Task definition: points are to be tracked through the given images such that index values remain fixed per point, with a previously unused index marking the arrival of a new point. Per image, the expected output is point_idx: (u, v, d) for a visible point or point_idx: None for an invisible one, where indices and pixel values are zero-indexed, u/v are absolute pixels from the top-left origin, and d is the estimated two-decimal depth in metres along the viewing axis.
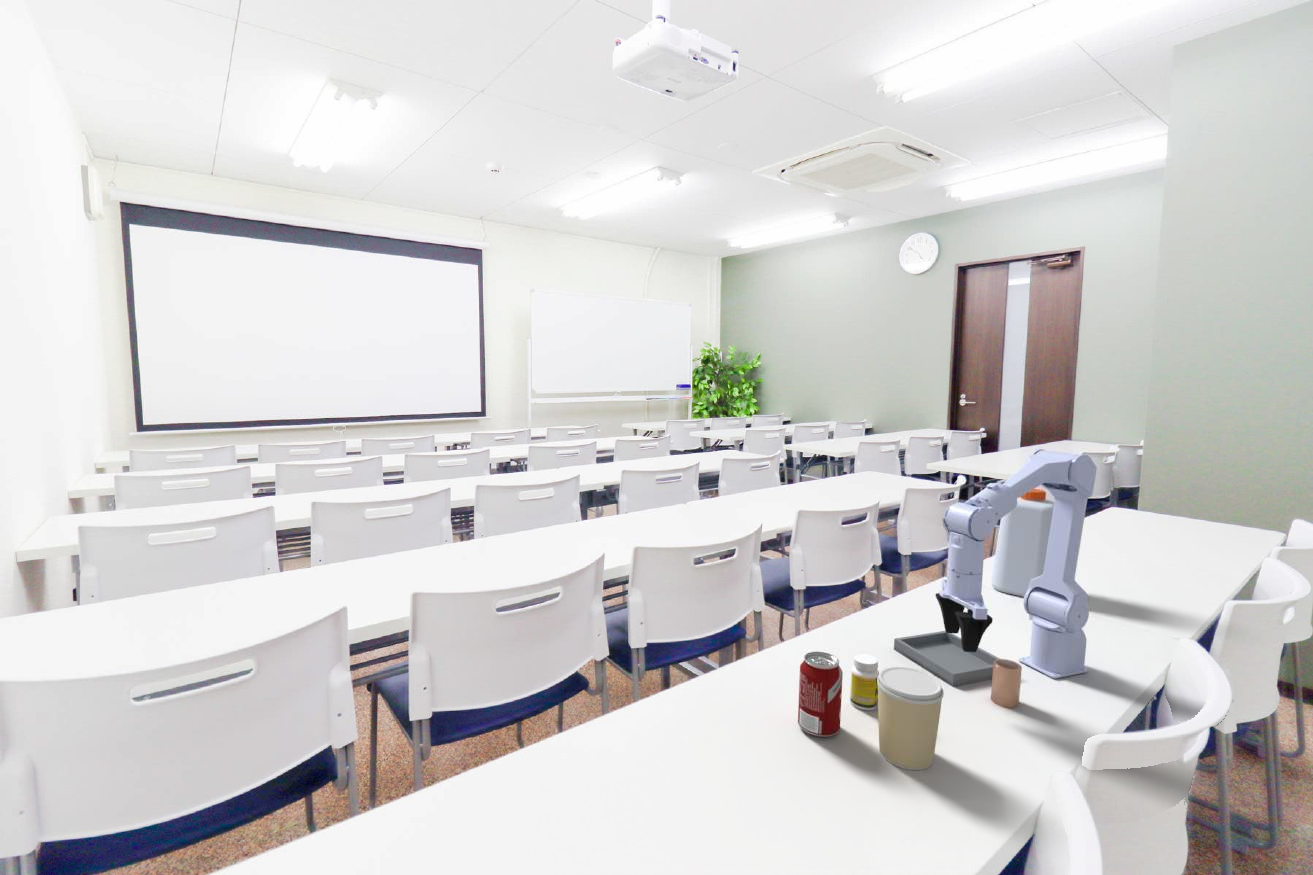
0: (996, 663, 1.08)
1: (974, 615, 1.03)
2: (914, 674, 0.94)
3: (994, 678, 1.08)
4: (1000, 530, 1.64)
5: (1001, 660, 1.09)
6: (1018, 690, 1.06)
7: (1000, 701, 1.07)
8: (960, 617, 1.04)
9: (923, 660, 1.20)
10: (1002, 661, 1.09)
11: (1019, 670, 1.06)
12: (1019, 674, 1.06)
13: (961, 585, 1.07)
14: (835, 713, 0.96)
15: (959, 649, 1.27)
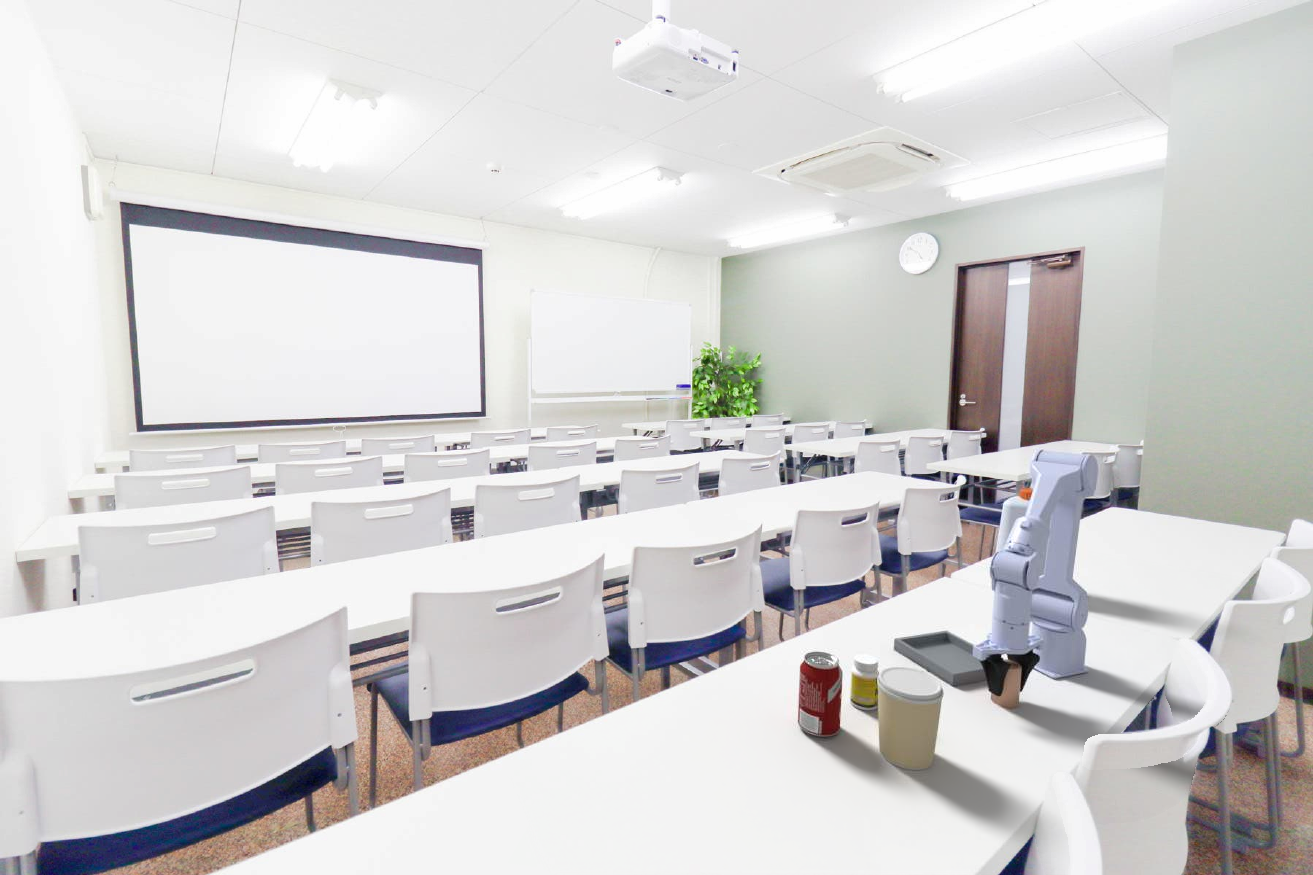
0: None
1: None
2: (914, 674, 0.94)
3: None
4: (1000, 530, 1.64)
5: None
6: (1018, 690, 1.06)
7: (1000, 701, 1.07)
8: None
9: (923, 660, 1.20)
10: None
11: (1019, 670, 1.06)
12: (1019, 674, 1.06)
13: (992, 628, 1.08)
14: (835, 713, 0.96)
15: (959, 649, 1.27)
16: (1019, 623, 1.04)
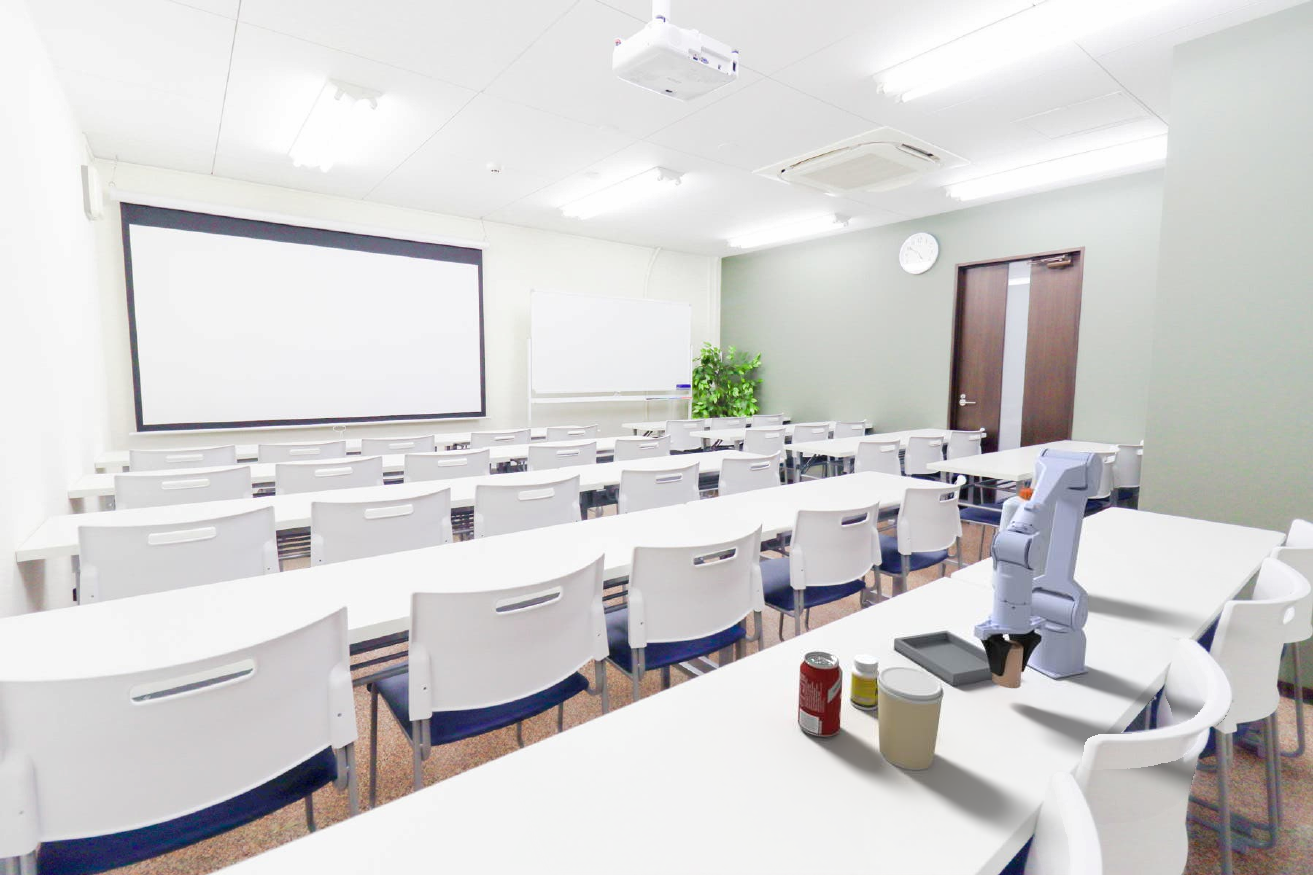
0: None
1: None
2: (914, 674, 0.94)
3: None
4: (1000, 530, 1.64)
5: None
6: (1020, 670, 1.06)
7: (1002, 681, 1.06)
8: None
9: (923, 660, 1.20)
10: None
11: (1021, 650, 1.05)
12: (1021, 654, 1.05)
13: (993, 608, 1.07)
14: (835, 713, 0.96)
15: (959, 649, 1.27)
16: (1021, 602, 1.03)
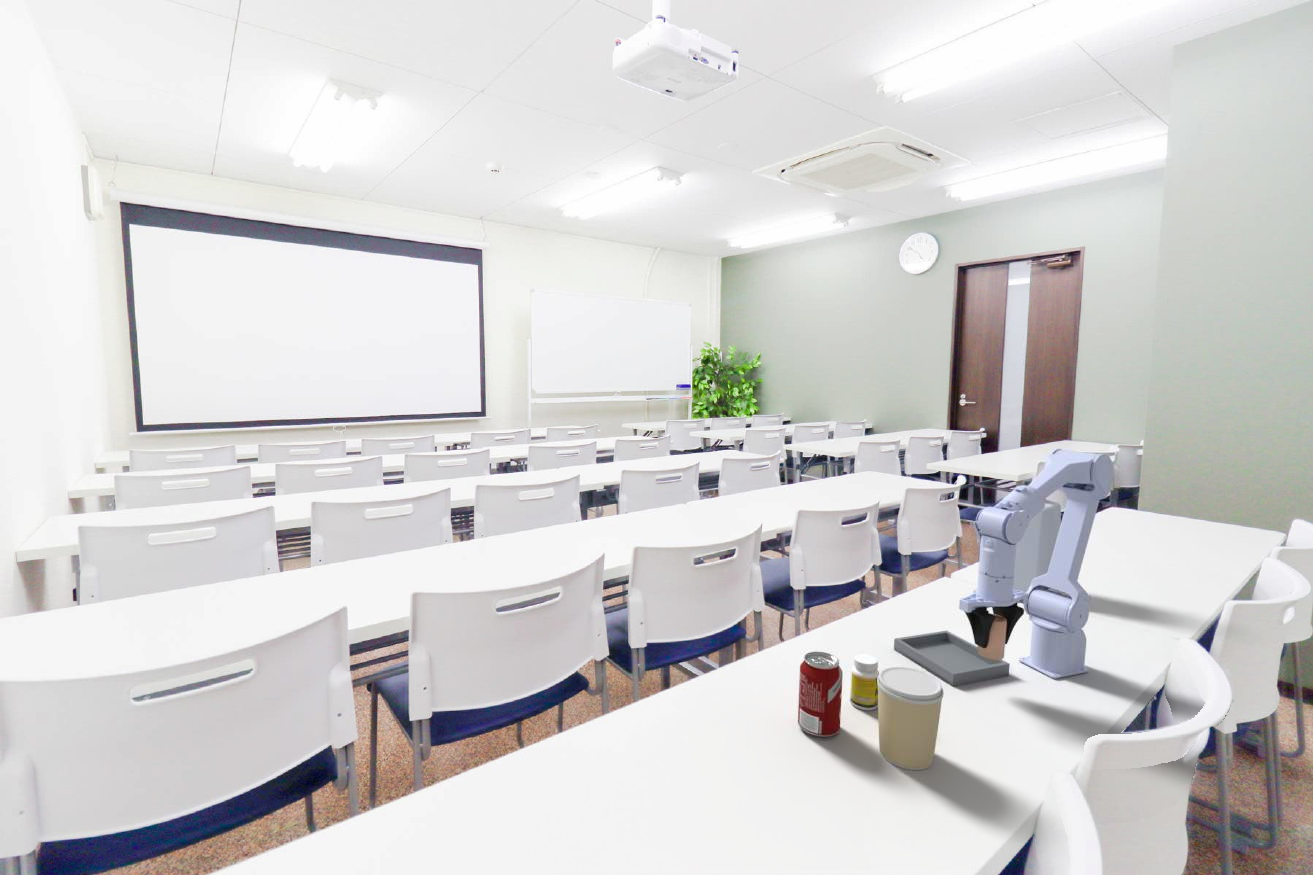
0: None
1: None
2: (914, 674, 0.94)
3: None
4: None
5: None
6: (1003, 642, 1.10)
7: (986, 653, 1.10)
8: None
9: (923, 660, 1.20)
10: None
11: (1004, 623, 1.09)
12: (1004, 626, 1.09)
13: (978, 582, 1.11)
14: (835, 713, 0.96)
15: (959, 649, 1.27)
16: (1000, 576, 1.07)
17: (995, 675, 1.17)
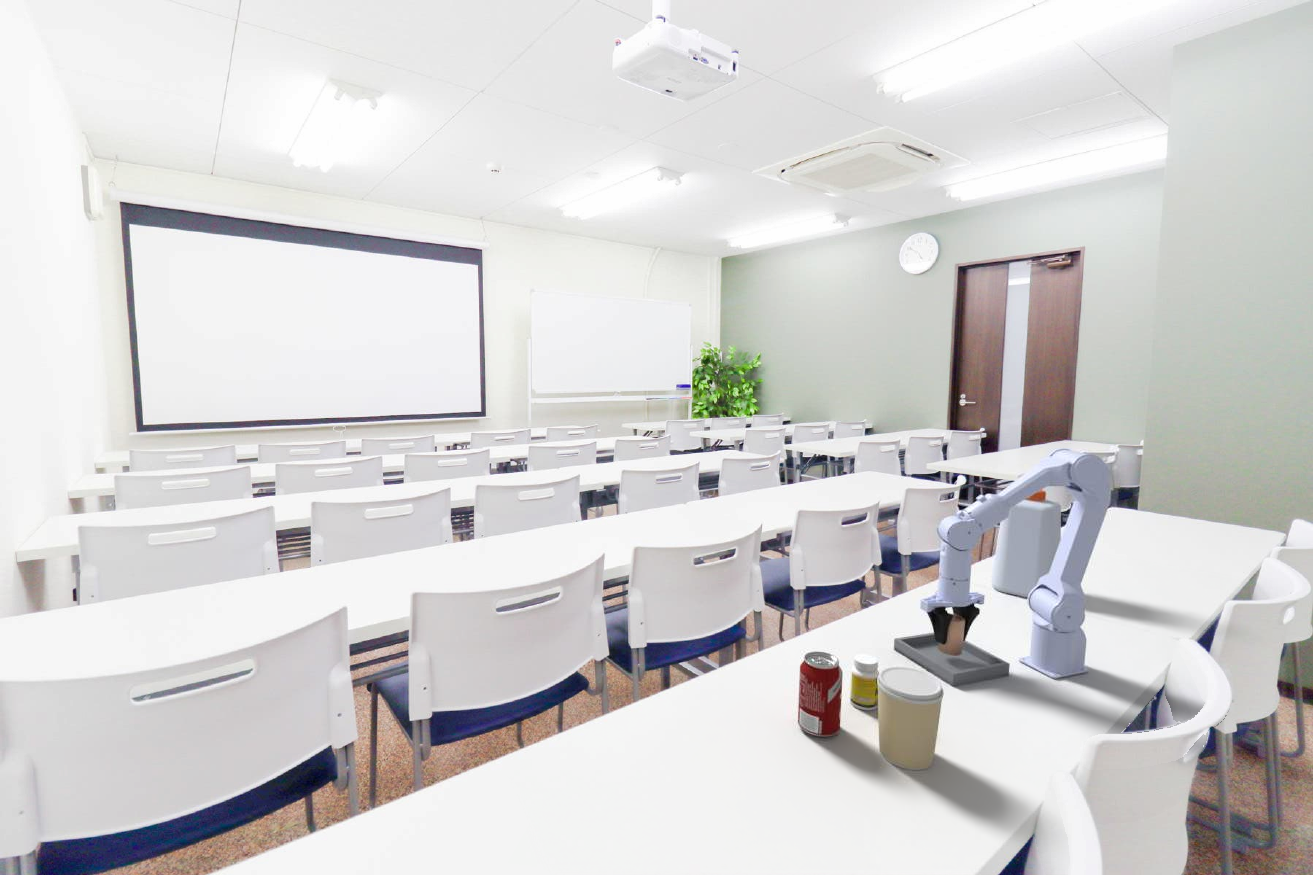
0: None
1: None
2: (914, 674, 0.94)
3: None
4: (1000, 530, 1.64)
5: None
6: (961, 640, 1.20)
7: (945, 649, 1.21)
8: None
9: (923, 660, 1.20)
10: None
11: (962, 622, 1.20)
12: (962, 626, 1.20)
13: (938, 585, 1.22)
14: (835, 713, 0.96)
15: None
16: (948, 577, 1.19)
17: (995, 675, 1.17)
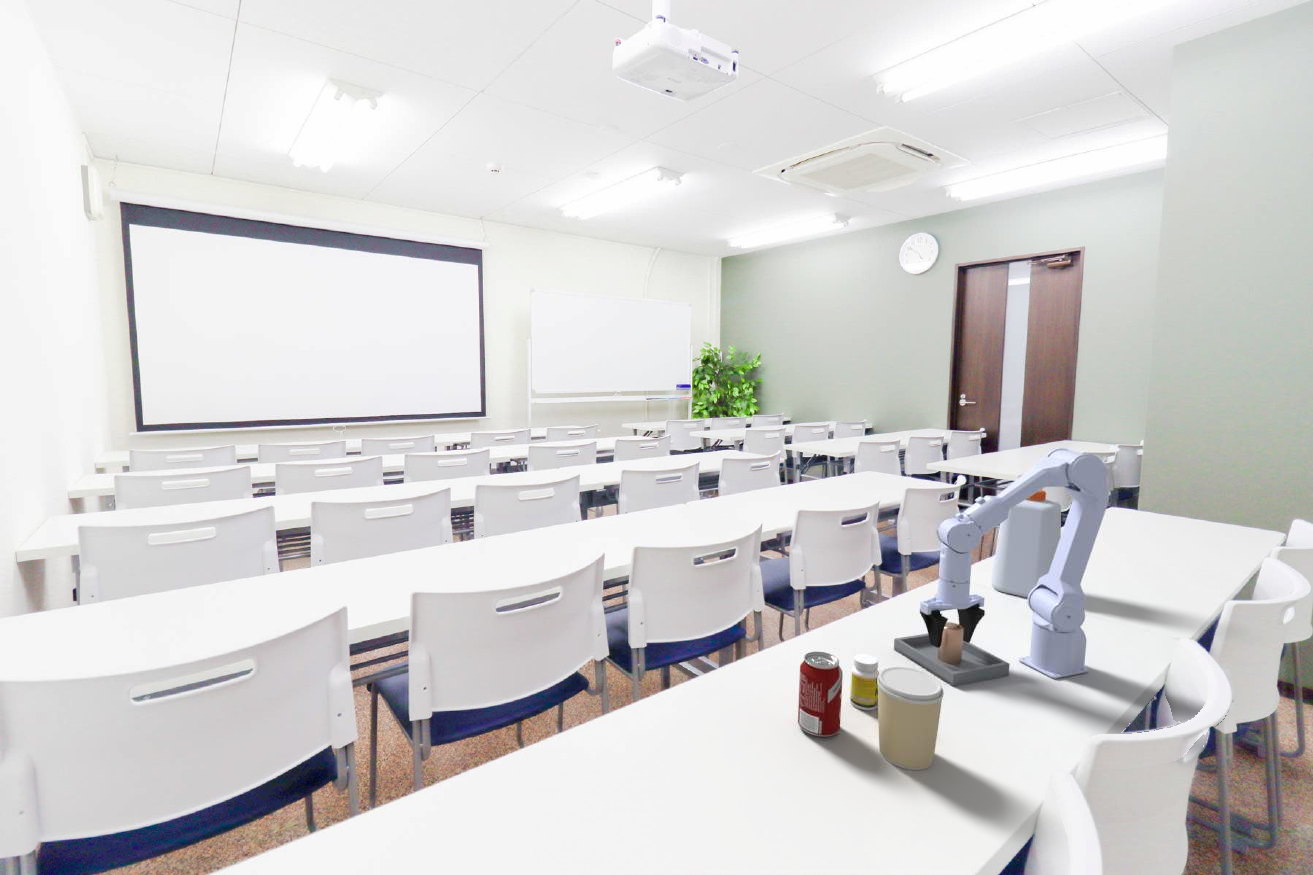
0: None
1: None
2: (914, 674, 0.94)
3: None
4: (1000, 530, 1.64)
5: (947, 623, 1.24)
6: (960, 648, 1.21)
7: (944, 658, 1.21)
8: None
9: (923, 660, 1.20)
10: (947, 624, 1.23)
11: (961, 631, 1.20)
12: (961, 634, 1.20)
13: (938, 587, 1.22)
14: (835, 713, 0.96)
15: None
16: (948, 580, 1.19)
17: (995, 675, 1.17)
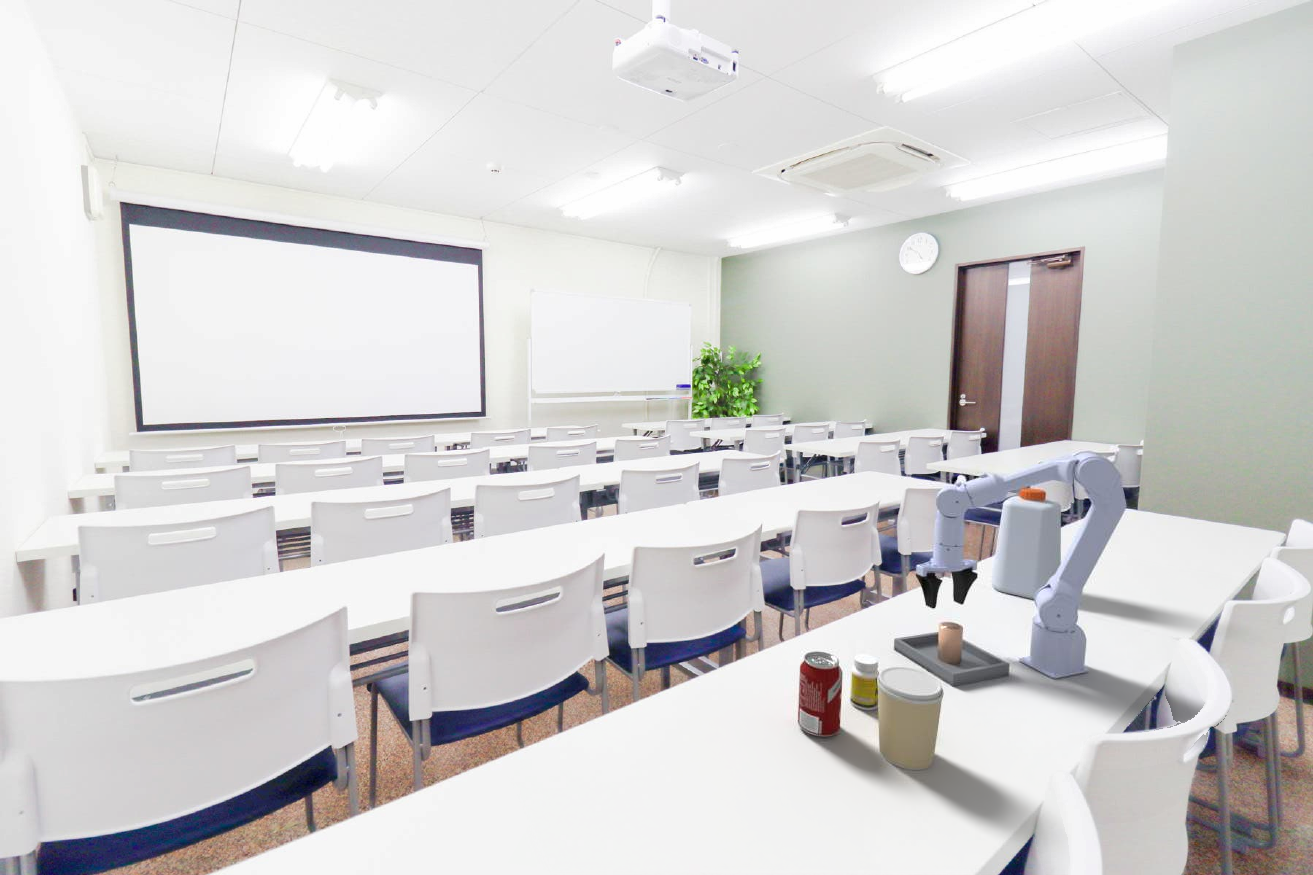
0: (941, 625, 1.23)
1: None
2: (914, 674, 0.94)
3: (939, 638, 1.23)
4: (1000, 530, 1.64)
5: (946, 622, 1.24)
6: (960, 648, 1.21)
7: (944, 658, 1.21)
8: None
9: (923, 660, 1.20)
10: (946, 623, 1.23)
11: (960, 630, 1.20)
12: (960, 633, 1.21)
13: (933, 551, 1.28)
14: (835, 713, 0.96)
15: None
16: (938, 542, 1.27)
17: (995, 675, 1.17)
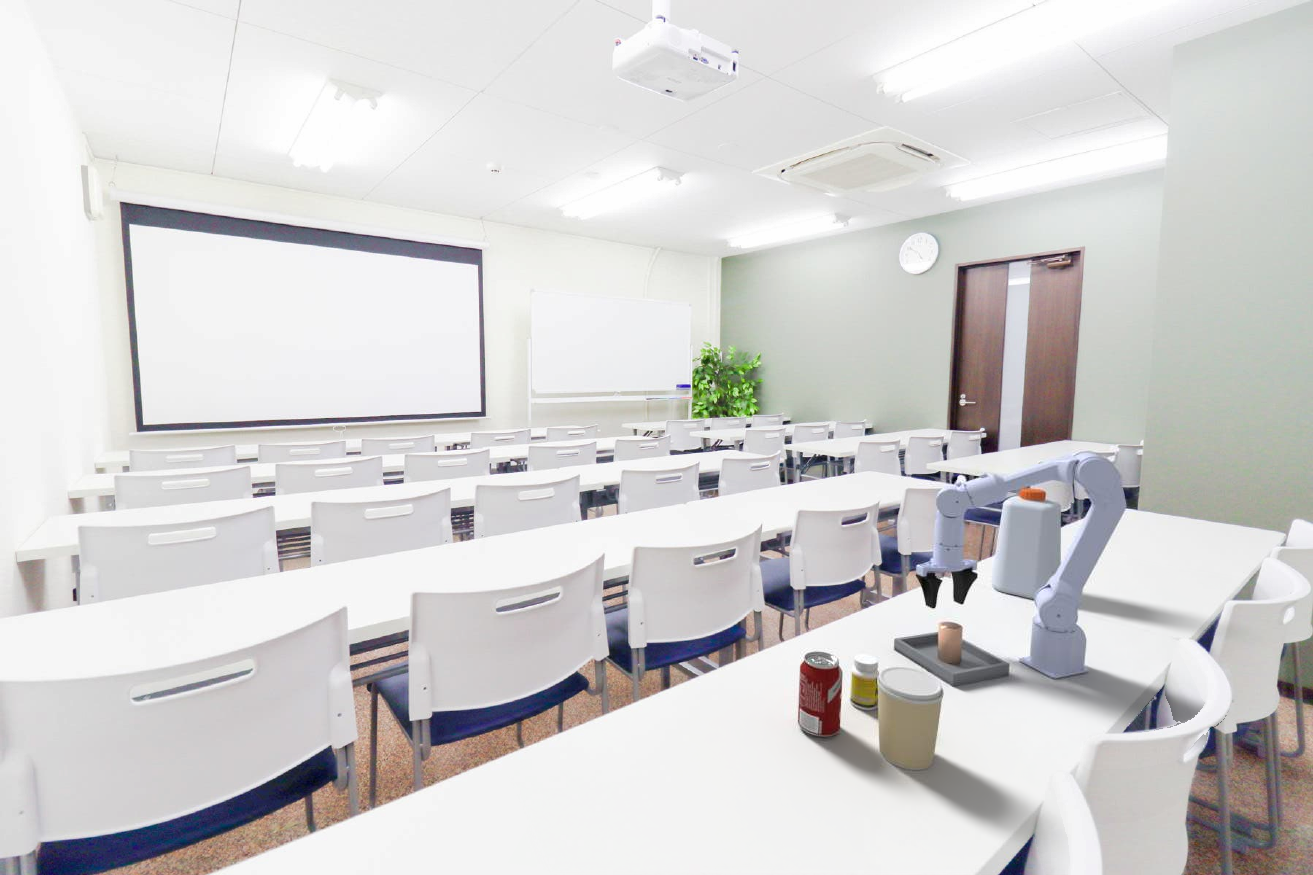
0: (940, 624, 1.23)
1: None
2: (914, 674, 0.94)
3: (939, 638, 1.23)
4: (1000, 530, 1.64)
5: (946, 622, 1.24)
6: (959, 648, 1.21)
7: (944, 658, 1.22)
8: None
9: (923, 660, 1.20)
10: (946, 623, 1.24)
11: (959, 630, 1.20)
12: (959, 633, 1.21)
13: (933, 551, 1.29)
14: (835, 713, 0.96)
15: None
16: (938, 542, 1.27)
17: (995, 675, 1.17)
